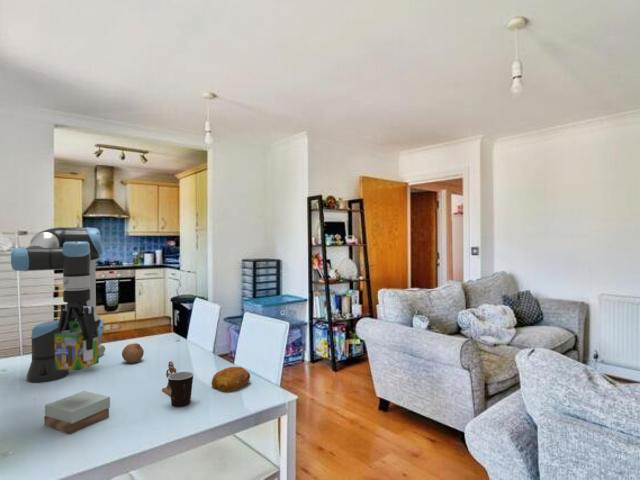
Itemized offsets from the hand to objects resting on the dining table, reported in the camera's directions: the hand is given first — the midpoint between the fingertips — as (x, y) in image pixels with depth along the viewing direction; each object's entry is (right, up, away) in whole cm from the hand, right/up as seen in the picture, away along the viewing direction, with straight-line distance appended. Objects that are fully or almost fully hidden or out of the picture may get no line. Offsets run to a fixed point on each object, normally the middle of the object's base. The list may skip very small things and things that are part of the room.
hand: (77, 357), depth 130 cm
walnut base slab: (0, -21, 0) cm, 21 cm away
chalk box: (0, -3, 0) cm, 3 cm away
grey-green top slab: (0, -18, +1) cm, 18 cm away
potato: (+43, -21, +32) cm, 57 cm away
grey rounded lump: (-36, -21, +72) cm, 83 cm away
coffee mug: (+29, -21, +12) cm, 38 cm away
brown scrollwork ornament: (+22, -21, +24) cm, 38 cm away
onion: (-11, -21, +62) cm, 67 cm away
